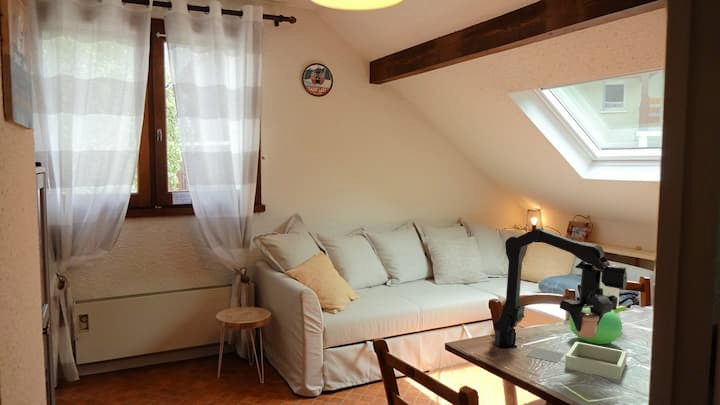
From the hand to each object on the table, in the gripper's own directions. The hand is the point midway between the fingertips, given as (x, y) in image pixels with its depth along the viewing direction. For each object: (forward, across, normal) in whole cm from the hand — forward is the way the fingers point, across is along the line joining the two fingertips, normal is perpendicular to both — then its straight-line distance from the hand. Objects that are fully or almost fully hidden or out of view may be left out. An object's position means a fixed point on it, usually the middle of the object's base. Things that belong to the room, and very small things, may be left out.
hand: (586, 330), depth 180 cm
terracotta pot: (+2, 0, 0) cm, 2 cm away
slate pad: (+12, -7, +10) cm, 17 cm away
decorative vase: (+12, +41, +32) cm, 53 cm away
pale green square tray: (+11, +2, -3) cm, 12 cm away
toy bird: (+12, +20, +16) cm, 28 cm away
